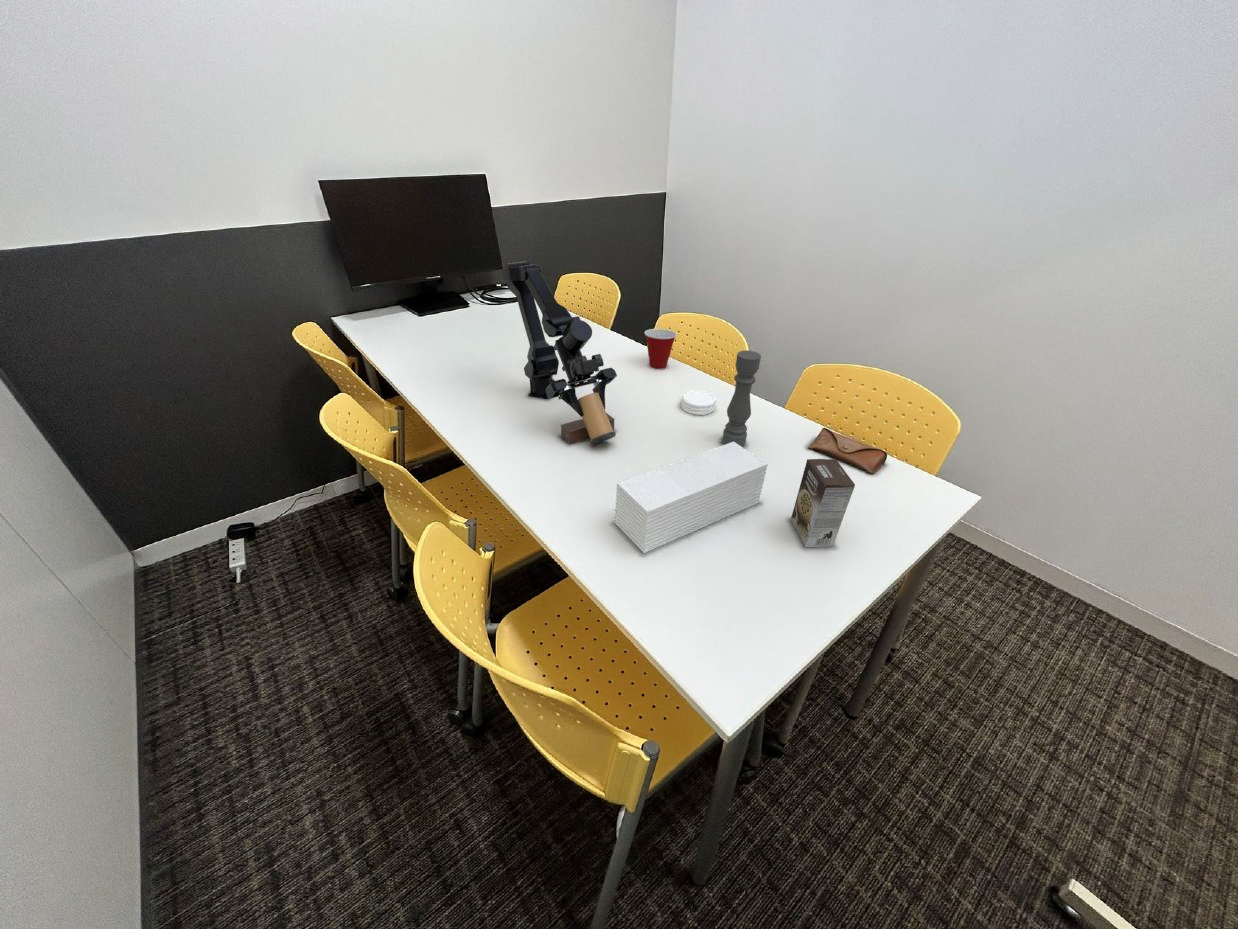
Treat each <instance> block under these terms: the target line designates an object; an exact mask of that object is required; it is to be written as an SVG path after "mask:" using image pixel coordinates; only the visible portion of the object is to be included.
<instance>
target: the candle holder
mask: <svg viewBox="0 0 1238 929" xmlns="http://www.w3.org/2000/svg"><path fill="white" fill-rule="evenodd" d="M735 359H736V360H735V370H736V374H735V375H734V377H733V380H734V381H735V388H734V393H733V395H732V397H731V400H730V402H729V404H728V406H727V409H726V415H727V418H728V422H727V423H726V424H725V425H724V429H723V431H722V438H721V444H722V445H725V444H728V443H731V442H735V443H737V444H738V445H740V446H741V447H743V448H744V447H745V446H746V442H747V439H748V438H747V437H748V432H747V431H748V426H747V425H746V423H747V421H748V420H749V419H750V417H751V416H752V407H751V405H752V404H751V391H752V386H753V384H755V382H756V380H757V379H756V377H755V375H756V374H757V373H758V371H759V369H760V366H761V365H760V364H761V359H762V355H761V354H760V353H759V352H756V351H754V350H746V349H745V350H740V351H738V352H737V354H736V358H735Z"/></svg>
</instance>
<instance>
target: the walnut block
mask: <svg viewBox="0 0 1238 929" xmlns="http://www.w3.org/2000/svg"><path fill="white" fill-rule="evenodd" d="M606 414H607V417H608V419H609V422H610V424H611V427H612V429H613V432H615V418H614V417H612V415H610V414H609V413H608V412H606ZM560 437H561V438H562V440H564V441H565V442H566V443H567V444H568V445H572V444H575V443H579V442H582V441H585V440H588V439H590V436H589V434H588V431H587V429H586V426H585V423H584V421H583V418H579V419H576V420H573V421H569V422H566V423H562V424H560Z"/></svg>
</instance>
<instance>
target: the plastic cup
mask: <svg viewBox="0 0 1238 929" xmlns="http://www.w3.org/2000/svg"><path fill="white" fill-rule="evenodd" d="M643 333H644V335H645V338H646V344H647V355H648V363H649V367H650V368H652V369H654V370H663V369H667V368H666V367H667V366H668V362H669V359H670V356H671V352H672V348H673V345H674V342H675V339H676V337H677V336H678V333H677V332H676V331H673V330H670V329H664V328H649V329H646V330H644V332H643Z"/></svg>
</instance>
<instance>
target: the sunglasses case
mask: <svg viewBox="0 0 1238 929" xmlns="http://www.w3.org/2000/svg"><path fill="white" fill-rule="evenodd" d="M808 449H810V450H813V451H815V452H819V453H822V454H823V455H826V456H828V457H831V458H832V459H836V460H837V461H840V462H842V463H845V464H846V465H849V466H851V467H854V468H856V469H859V470H861V471H863V472H867V473H870V474H875V473H877V472H878V471H879V470H880V469H882V468H883V467H884V466H885V463H886V461H887V459H888V453H887V452H886V451H885V450H883V449H880V448H876V447H873V446H871V445H869V444H866V443H864V442H861V441H858V440H856V439H854V438H851V437H848V436H845V435H843V434H841V433H838V432H836V431H832V430H831V429H829V428H827V427H822V428H821V430H820V431H819V433H818V435H817V436H816V437H815V439H814V441H813V442H812V443H811V444H810V445H809V446H808Z"/></svg>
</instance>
